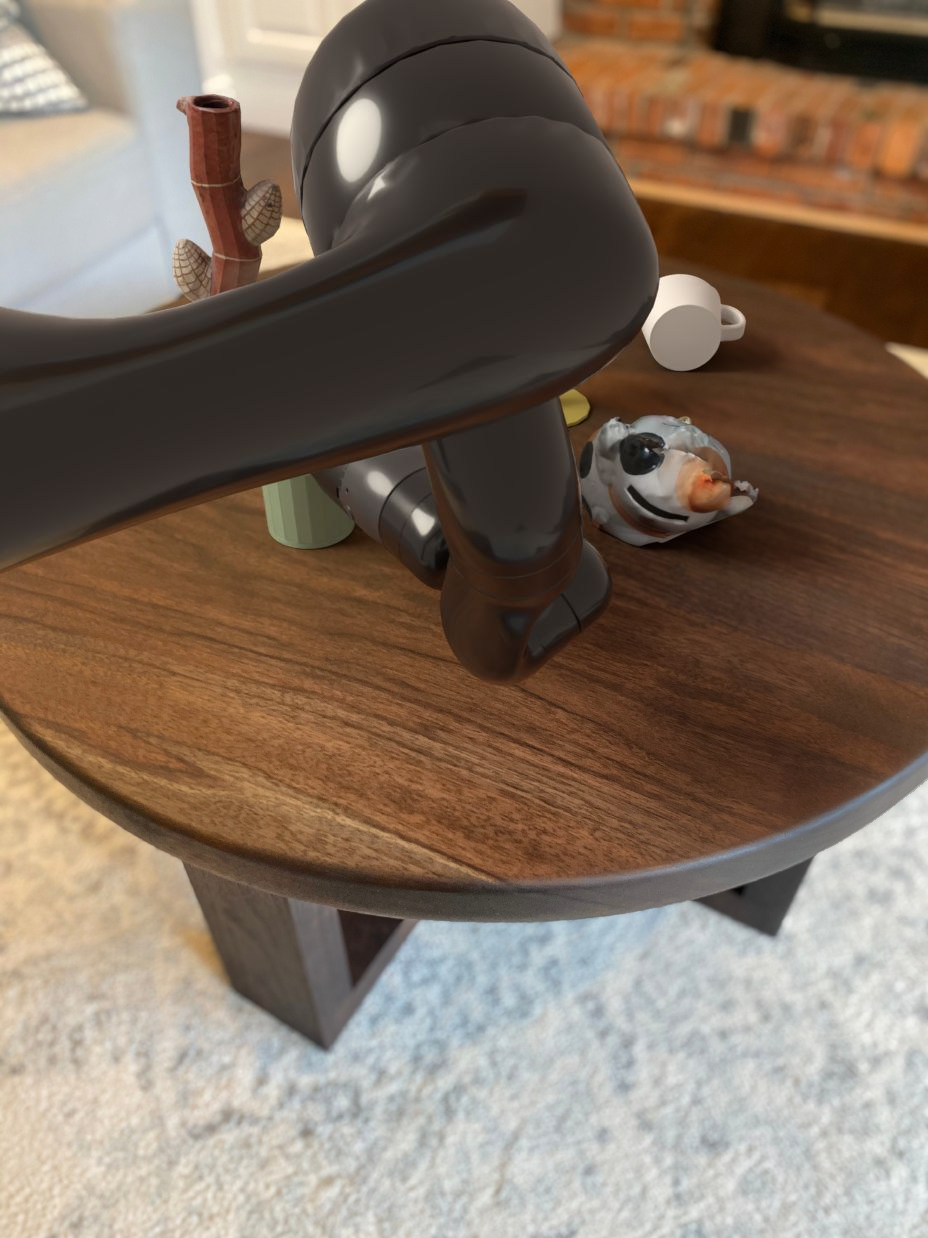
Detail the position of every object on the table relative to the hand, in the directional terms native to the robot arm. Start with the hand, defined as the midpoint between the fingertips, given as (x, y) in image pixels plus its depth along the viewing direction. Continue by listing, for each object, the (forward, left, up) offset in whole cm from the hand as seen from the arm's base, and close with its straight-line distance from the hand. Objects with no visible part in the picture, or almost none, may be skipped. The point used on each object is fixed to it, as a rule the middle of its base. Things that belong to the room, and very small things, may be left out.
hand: (283, 388), depth 78 cm
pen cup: (+1, -3, -12) cm, 12 cm away
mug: (+50, +18, -12) cm, 54 cm away
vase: (-1, +18, -12) cm, 22 cm away
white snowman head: (+31, -12, -12) cm, 35 cm away
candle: (+29, +11, -12) cm, 33 cm away
